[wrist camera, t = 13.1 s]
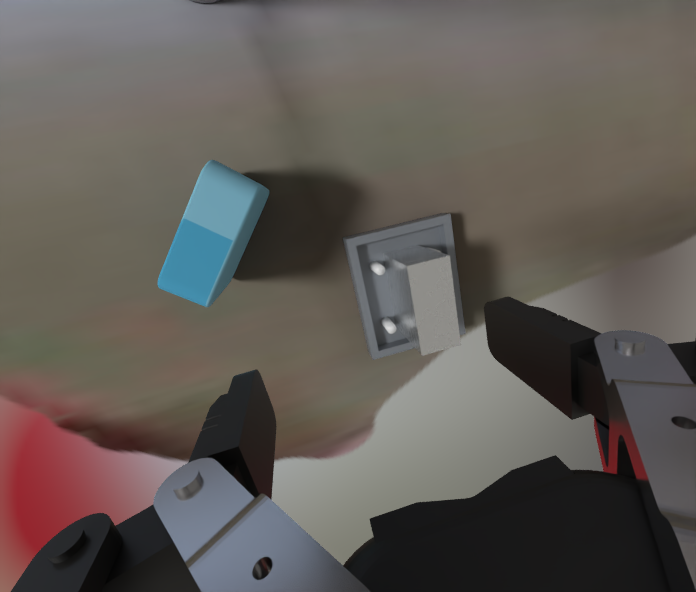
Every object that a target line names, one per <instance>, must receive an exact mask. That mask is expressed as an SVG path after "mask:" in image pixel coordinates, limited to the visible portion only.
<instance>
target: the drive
mask: <svg viewBox="0 0 696 592" xmlns="http://www.w3.org/2000/svg"><path fill="white" fill-rule="evenodd" d="M383 256H384V262H385V267H386V272H387V278H388V283H389V288H390V294H391V299H392V305H393V310H394V315H395V321H396V326H397V327H398V329H399V330H400V331H401V332H402V333H403V334H404V336H405V337H406V338H407V339H408V340H409V341H410V343H411V344H412V345H413V346H414V347H415V348H416V350H417V351H418V352H419V353H420V354H421V355H422V356H423V355H426V354H430V353H433V352H437V351H441V350H444V349H448V348H451V347H455V346H458V345H461V342H460V334H459V326H458V318H457V310H456V302H455V294H454V285H453V277H452V269H451V261H450V255H447V254H444V253H440V252H437V251H434V250H431V249H428V248H425V247H421V246H418V245H416V246H412V247H408V248H404V249H400V250H396V251H392V252H387V253H383Z"/></svg>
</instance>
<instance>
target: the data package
mask: <svg viewBox="0 0 696 592" xmlns="http://www.w3.org/2000/svg"><path fill="white" fill-rule="evenodd" d="M268 196H269V189H267V188H266V187H264V186H263V185H261V184H259V183H258V182H256V181H254V180H252V179H250V178H248V177H246V176H244V175H242V174H240V173H238V172H236V171H234V170H232V169H231V168H229V167H227V166H225V165H223V164H221V163H219V162H217V161H215V160H210V161H209V162H207V163H206V165H205V166H204V168H203V169H202V171H201V173H200V175H199V178H198V180H197V183H196V185H195V188H194V190H193V193H192V195H191V198H190V200H189V203H188V205H187V208H186V210H185V213H184V215H183V218H182V220H181V223H180V225H179V228H178V230H177V233H176V235H175V238H174V240H173V243H172V245H171V248H170V250H169V253H168V255H167V258H166V260H165V263H164V265H163V268H162V270H161V273H160V275H159V279H158V287H159V288H160V289H162V290H165V291H167V292H170V293H172V294H175V295H177V296H180V297H182V298H185V299H188V300H190V301H193V302H195V303H198V304H200V305H203V306H205V307H209V306H211V304H212V303H213V302H214V301H215V300H216V298H217V297H218V296H219V295H220V294H221V293H222V291H223V290H224V289H225V288H226V287H227V285H228V284H229V283H230V281H231V279H232V277H233V275H234V273H235V271H236V269H237V267H238V264H239V262H240V260H241V258H242V255H243V253H244V251H245V249H246V246H247V244H248V242H249V240H250V237H251V235H252V233H253V231H254V228H255V226H256V224H257V222H258V219H259V217H260V215H261V213H262V210H263V208H264V206H265V204H266V201H267V199H268Z"/></svg>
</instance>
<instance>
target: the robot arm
mask: <svg viewBox="0 0 696 592" xmlns="http://www.w3.org/2000/svg"><path fill="white" fill-rule="evenodd" d="M190 1H194V2H199V3H213V2H216V1H219V0H190ZM484 313H485V322H486V331H487V340H488V346H489V349H490V352H491V353H492V355H493V357H494V358H495V359H496V360H497V361H498V362H499V363H501V364H502V365H503V366H504V367H506V368H507V369H508V370H510V371H511V372H512V373H513V374H515V375H516V376H517V377H519V378H520V379H521V380H522V381H523V382H525V383H526V384H527V385H528V386H530V387H531V388H533V389H534V390H535V391H536V392H538V393H539V394H540V395H541V396H543V397H544V398H545V399H546V400H548V401H549V402H550V403H551V404H553V405H554V406H555V407H557V408H558V409H559V410H560V411H562V412H563V413H564V414H565V415H567V416H568V417H569V418H570V419H572V420H573V419H576V418H579V417H582V416H584V415H588V414H592V415H593V416H594V429H595V435H596V439H597V443H598V448H599V453H600V458H601V462H602V467H603V472H602V471H592V470H570V469H569V468H568V467H567V466H566V465H565V464H564V463H563V462H562V461H561V460H560V459H559V458H558V457H557V456H552V457H549V458H546V459H543V460H540V461H537V462H535V463H532V464H529V465H526V466H523V467H520V468H517V469H514V470H511V471H510V472H508V473H507V474H506V475H504V476H503V477H502V478H500V479H498V480H497V481H496V482H494V483H493V484H492V485H490V486H489V487H487V488H486V489H484V490H483V491H482V492H480V493H479V494H477V495H475V496H474V497H471V498H466V499H455V500H443V501H431V502H418V503H414V504H411V505H409V506H406V507H403V508H400V509H397V510H394V511H391V512H388V513H385V514H382V515H379V516H376V517H373V518H371V519H370V523H371V527H372V531H373V535H374V537H373V538H372V539H370V540H368V541H367V542H366V543H364V544H363V545H362V546H361V547H360V548H359V549H358V550H356V551H355V552H354V553H353V555H352V556H351V557H350V558H349V559H348V560H347V561H346V562H345V564H344V565H341V564H340V563H339V562H338V561H337V560H336V559H335V558H334V557H333V556H332V555H331V554H330V553H328V552H327V551H326V550H325V549H324V548H323V547H322V546H320V544H319V543H318V542H316V541H315V540H314V539H313V538H312V537H311V536H310V535H309V534H308V533H307V532H306V531H305V530H303V529H302V528H301V527H300V526H299V525H298V524H297V523H296V522H295V521H294V520H293V519H291V518H290V517H289V516H288V515H287V514H286V513H285V512H284V511H283V510H282V509H281V508H280V507H278V506H277V505H276V504H275V503H274V502H273V501H272V500H271V497H272V483H273V468H274V454H275V440H276V418H275V414H274V410H273V407H272V404H271V401H270V399H269V396H268V393H267V391H266V388H265V385H264V383H263V380H262V377H261V375H260V373H259V371H258V370H253V371H250V372H246V373H243V374H239V375H236V376H234V377H233V379H232V382H231V385H230V388H229V391H228V394H224V395H221V396H220V397H219V398H218V399H217V400H216V401H215V403H214V404H213V405H212V406H211V407H210V409H209V412H208V414H207V417H206V421H205V422H204V424H203V427H202V431H201V432H200V435H199V437H198V440H197V442H196V445H195V447H194V450H193V452H192V455H191V457H190V460H189V463H187V464H185V465H183V466H182V467H180V468H179V469H177V470H176V471H175V472H173V473H172V474H171V475H170V476H169V477H168V478H167V479H166V480H165V481H164V482H163V483H162V485H161V486H160V487H159V489H158V491H157V493H156V495H155V497H154V504H153V505H152V506H150V507H148V508H147V509H145V510H143V511H141V512H140V513H138V514H136V515H134V516H132V517H131V518H129V519H127V520H125V521H124V522H122V523H120V524H118V525H116V526H115V525H114V523H113V522H112V520H111V519H110V517H109V516H108V515H107V514H104V513H97V514H92V515H89V516H86V517H84V518H82V519H80V520H78V521H76V522H74V523H72V524H71V525H69V526H68V527H66V528H65V529H63V530H62V531H61V532H59V533H58V534H57V535H56V536H54V537H53V538H52V539H51V540H50V541H49V542H48V543H47V544H46V545H45V546H44V547H43V548H42V549H41V550H40V551H39V552H38V553H37V554H36V556H35V557H34V558H33V560H32V561H31V562H30V564H29V565H28V567H27V568H26V570H25V571H24V573H23V574H22V576H21V577H20V579H19V580H18V582H17V583H16V585H15V586H14V588H13V589H12V591H11V592H696V340H695V341H694V342H684V343H674V344H667V343H665V342H664V341H663V340H662V339H660V338H658V337H656V336H653V335H650V334H647V333H643V332H637V331H627V330H620V331H619V330H618V331H609V332H605V333H602V334H601V333H599V332H597V331H595V330H592V329H590V328H588V327H585V326H583V325H581V324H578V323H576V322H574V321H572V320H568V319H567V318H565V317H562V316H560V315H558V316H557V314H556V313H553V312H551V311H549V310H546V309H544V308H539V307H534V306H529V305H527V304H524V303H522V302H520V301H518V300H515V299H513V298H511V297H504V298H501V299H497V300H494V301H491V302H487V303H486V304H485V307H484Z"/></svg>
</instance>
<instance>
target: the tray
mask: <svg viewBox="0 0 696 592" xmlns="http://www.w3.org/2000/svg"><path fill="white" fill-rule="evenodd" d="M343 241H344V246H345V250H346V255H347V259H348V264H349V268H350V272H351V277H352V281H353V286H354V290H355V294H356V299H357V303H358V308H359V312H360V317H361V321H362V325H363V330H364V334H365V339H366V343H367V347H368V352H369V353H370V355H371V357H372V359H373V360H374V359H378V358H381V357H385V356H388V355H392V354H395V353H399V352H403V351H406V350H410V349H413V348H415V347H414V346H413V345H412V344H411V343H410V341H409V340H408V339H407V338H406V337H405V336H404V334H403V333H402V332H401V331H400V330H399V329H398V327H397V326H396V321H395V315H394V310H393V305H392V299H391V294H390V288H389V283H388V278H387V272H386V267H385V262H384V256H383V253H387V252H392V251H396V250H400V249H404V248H408V247H412V246H416V245H418V246H421V247H425V248H428V249H431V250H434V251H437V252H440V253H444V254H447V255H450V261H451V269H452V277H453V285H454V294H455V302H456V310H457V318H458V326H459V334H460V335H462V334H465V326H464V318H463V310H462V302H461V294H460V286H459V278H458V270H457V262H456V254H455V246H454V238H453V230H452V222H451V214H444V213H440V214H436V215H432V216H428V217H424V218H420V219H416V220H412V221H408V222H403V223H399V224H395V225H391V226H387V227H383V228H379V229H375V230H371V231H367V232H363V233H359V234H355V235H351V236H347V237H343Z"/></svg>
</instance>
